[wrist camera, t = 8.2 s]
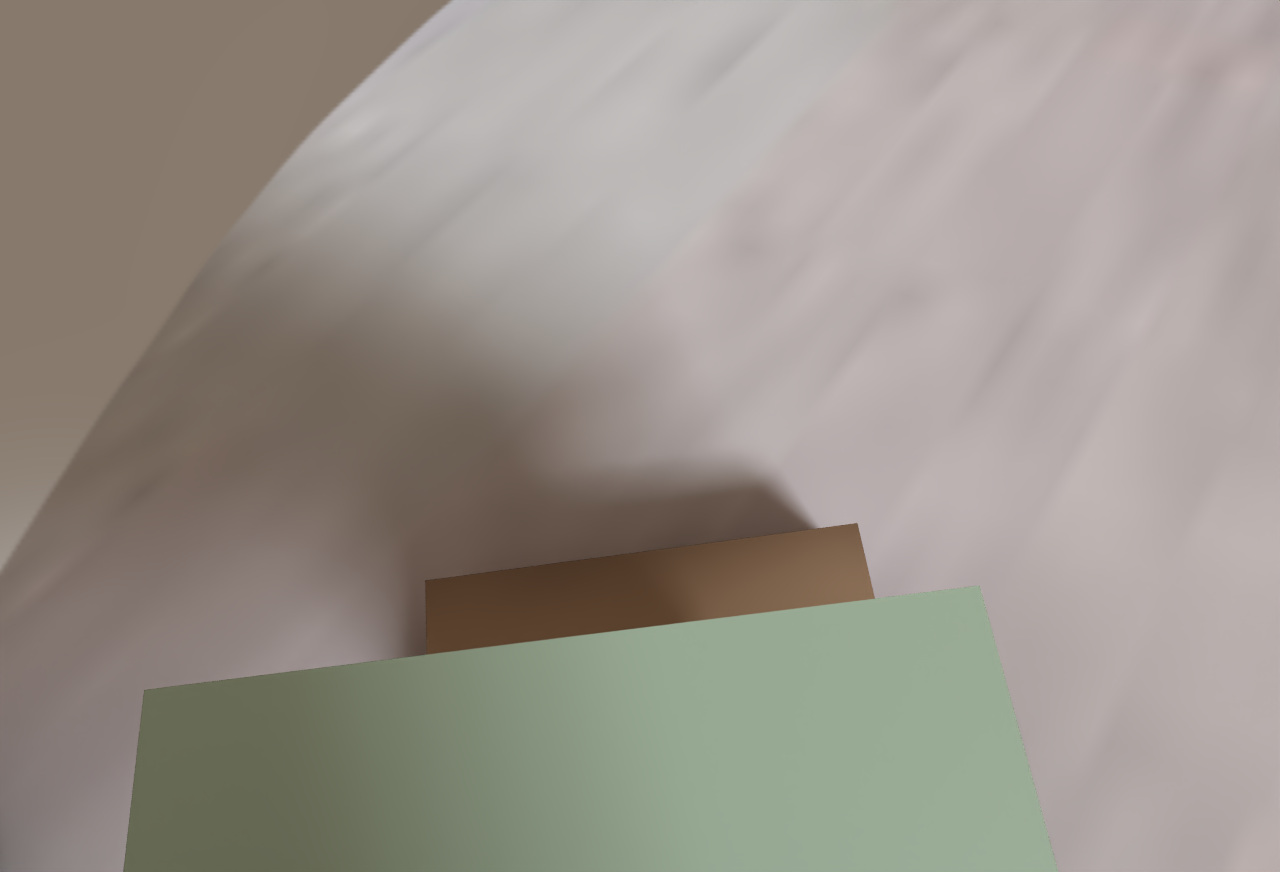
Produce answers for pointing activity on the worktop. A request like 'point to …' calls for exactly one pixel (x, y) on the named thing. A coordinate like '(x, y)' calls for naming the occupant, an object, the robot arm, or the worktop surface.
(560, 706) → the green block
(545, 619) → the walnut riser
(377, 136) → the worktop surface
